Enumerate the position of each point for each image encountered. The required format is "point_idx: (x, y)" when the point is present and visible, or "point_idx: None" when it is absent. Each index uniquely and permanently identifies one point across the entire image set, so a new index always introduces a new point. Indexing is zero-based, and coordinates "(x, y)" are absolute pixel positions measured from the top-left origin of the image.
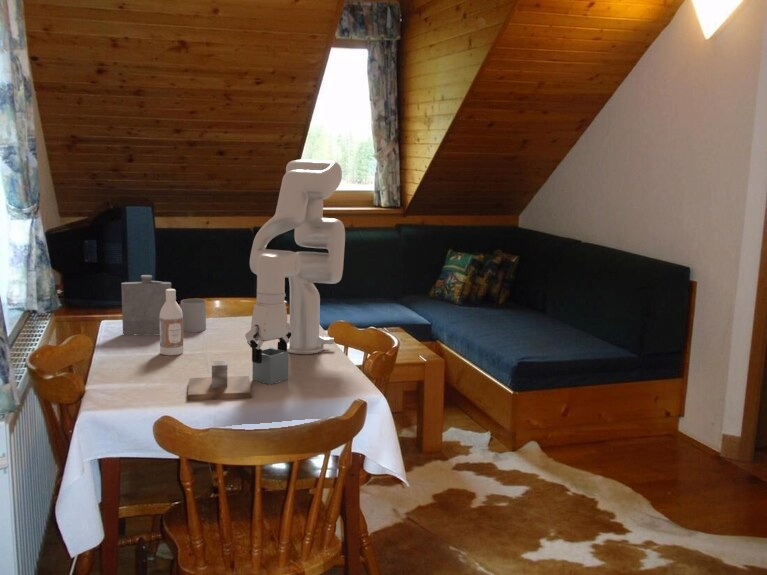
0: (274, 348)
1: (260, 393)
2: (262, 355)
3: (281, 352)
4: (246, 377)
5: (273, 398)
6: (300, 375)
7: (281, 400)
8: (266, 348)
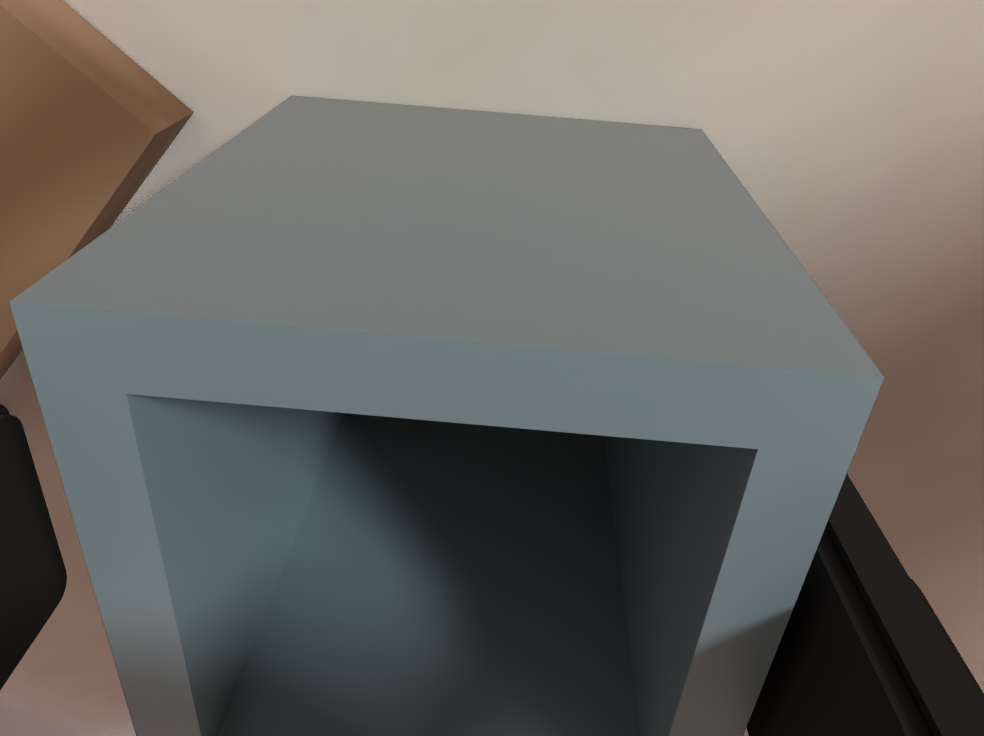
0: (785, 538)
1: (48, 510)
2: (116, 614)
3: (663, 710)
4: (80, 157)
5: (77, 653)
6: (866, 474)
7: (106, 712)
8: (642, 377)
